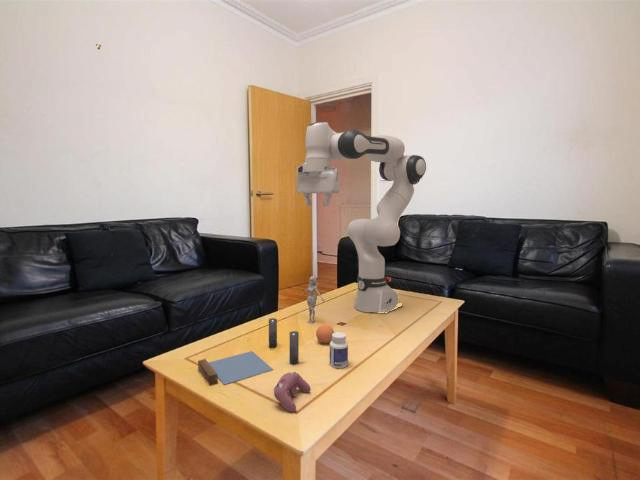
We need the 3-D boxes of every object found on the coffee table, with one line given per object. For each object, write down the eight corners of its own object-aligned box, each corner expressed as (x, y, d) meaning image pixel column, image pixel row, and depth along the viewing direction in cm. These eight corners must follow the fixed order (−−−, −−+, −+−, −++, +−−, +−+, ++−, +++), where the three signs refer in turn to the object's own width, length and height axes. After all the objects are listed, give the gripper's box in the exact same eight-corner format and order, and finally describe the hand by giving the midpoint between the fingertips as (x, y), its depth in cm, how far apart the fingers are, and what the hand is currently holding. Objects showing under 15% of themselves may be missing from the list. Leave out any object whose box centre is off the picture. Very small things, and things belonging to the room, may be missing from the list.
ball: (326, 337, 119) (327, 320, 118) (337, 343, 114) (338, 325, 113) (312, 341, 115) (312, 323, 114) (323, 347, 110) (323, 329, 110)
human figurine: (297, 319, 136) (297, 274, 134) (304, 317, 138) (304, 273, 136) (320, 327, 128) (320, 279, 126) (326, 324, 130) (327, 278, 128)
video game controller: (298, 394, 87) (286, 368, 87) (313, 390, 85) (301, 363, 85) (279, 417, 78) (267, 388, 78) (295, 413, 76) (283, 383, 76)
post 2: (295, 359, 102) (295, 330, 101) (300, 363, 100) (300, 333, 99) (287, 362, 100) (287, 332, 99) (292, 365, 98) (292, 335, 97)
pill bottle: (351, 364, 99) (352, 335, 98) (339, 370, 96) (339, 340, 95) (337, 358, 103) (338, 329, 102) (325, 364, 99) (326, 334, 98)
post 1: (274, 344, 112) (274, 317, 111) (278, 347, 110) (278, 320, 109) (267, 346, 111) (267, 319, 110) (271, 349, 109) (271, 321, 108)
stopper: (205, 367, 97) (205, 358, 96) (217, 383, 89) (217, 373, 88) (198, 369, 95) (198, 360, 95) (209, 385, 87) (209, 376, 87)
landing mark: (252, 351, 107) (252, 350, 107) (273, 370, 96) (273, 369, 96) (206, 363, 99) (206, 362, 99) (224, 385, 87) (224, 384, 87)
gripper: (344, 166, 120) (343, 206, 121) (306, 169, 135) (306, 205, 136) (331, 165, 115) (330, 206, 117) (293, 168, 130) (293, 205, 132)
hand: (317, 206), depth 127 cm, fingers open, 8 cm apart
